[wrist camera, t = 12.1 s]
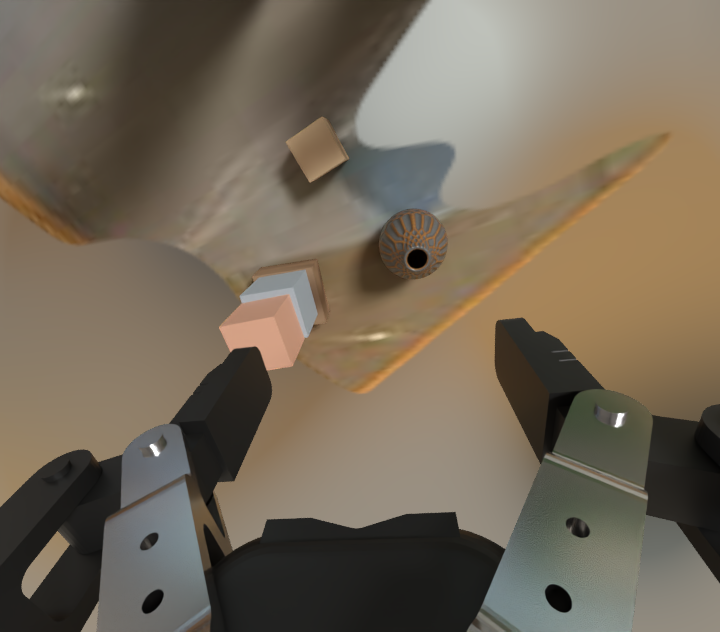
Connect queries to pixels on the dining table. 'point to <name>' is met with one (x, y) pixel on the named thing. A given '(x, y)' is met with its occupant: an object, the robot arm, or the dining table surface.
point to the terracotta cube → (266, 330)
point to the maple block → (317, 149)
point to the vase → (413, 244)
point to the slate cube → (287, 284)
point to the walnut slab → (314, 282)
